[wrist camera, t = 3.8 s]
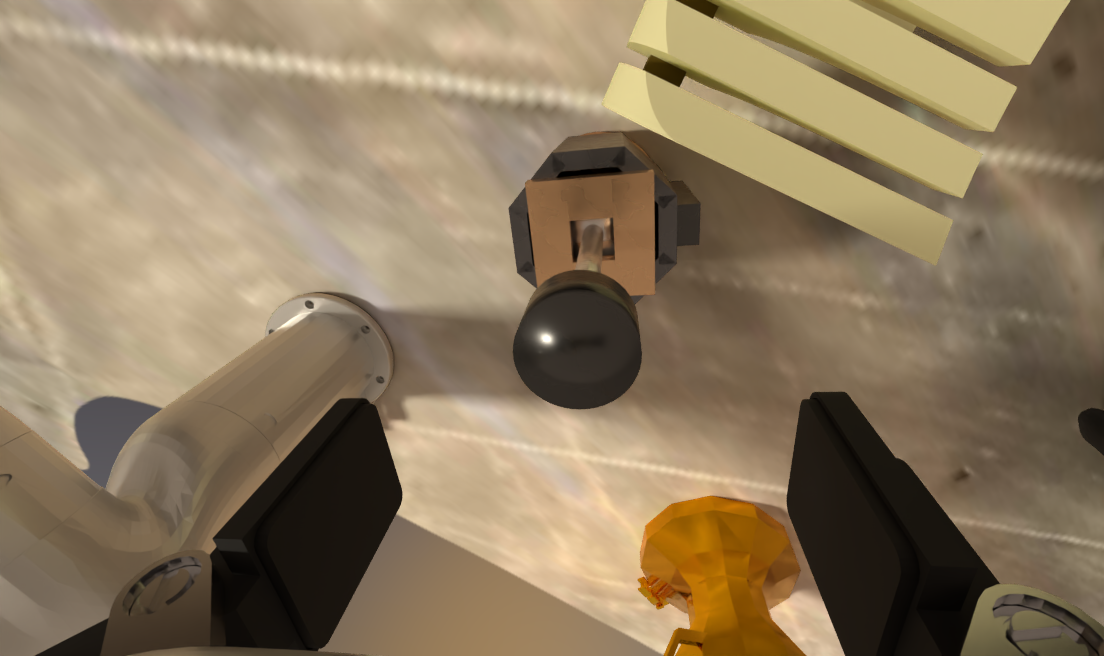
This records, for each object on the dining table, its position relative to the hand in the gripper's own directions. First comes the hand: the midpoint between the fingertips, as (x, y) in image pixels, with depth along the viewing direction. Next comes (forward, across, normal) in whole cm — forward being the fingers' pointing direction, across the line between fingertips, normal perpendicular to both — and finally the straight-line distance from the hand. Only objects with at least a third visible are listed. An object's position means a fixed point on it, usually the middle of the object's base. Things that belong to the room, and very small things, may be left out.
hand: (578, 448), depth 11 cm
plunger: (+20, +1, 0) cm, 20 cm away
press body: (+31, +1, 0) cm, 31 cm away
